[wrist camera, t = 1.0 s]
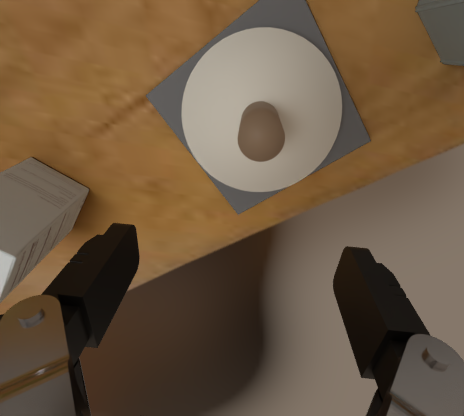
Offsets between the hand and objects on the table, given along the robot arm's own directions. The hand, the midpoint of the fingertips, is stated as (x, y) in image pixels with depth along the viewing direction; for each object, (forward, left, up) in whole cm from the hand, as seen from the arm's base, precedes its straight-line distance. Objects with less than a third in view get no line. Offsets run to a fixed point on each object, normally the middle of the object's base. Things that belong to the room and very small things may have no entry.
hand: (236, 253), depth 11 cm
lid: (-1, +1, -20) cm, 20 cm away
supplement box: (+10, -23, -21) cm, 32 cm away
